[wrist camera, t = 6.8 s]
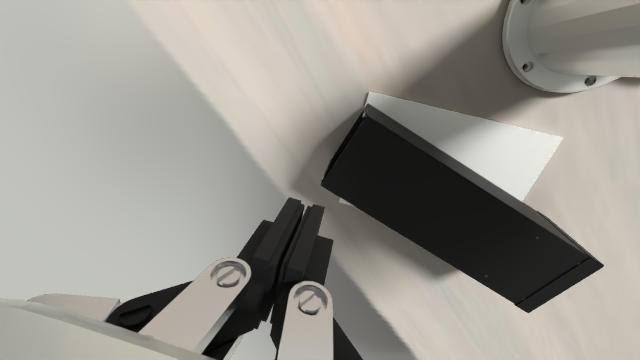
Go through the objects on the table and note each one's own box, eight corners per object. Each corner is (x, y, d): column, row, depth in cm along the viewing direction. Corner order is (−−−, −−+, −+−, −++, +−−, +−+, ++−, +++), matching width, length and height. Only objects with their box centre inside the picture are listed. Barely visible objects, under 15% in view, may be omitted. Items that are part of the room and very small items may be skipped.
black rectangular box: (366, 101, 27) (570, 232, 29) (330, 158, 31) (514, 272, 33) (365, 113, 20) (634, 285, 22) (318, 185, 24) (554, 329, 26)
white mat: (559, 136, 26) (563, 137, 25) (492, 242, 32) (493, 244, 31) (369, 91, 27) (369, 91, 27) (338, 200, 33) (338, 202, 33)
